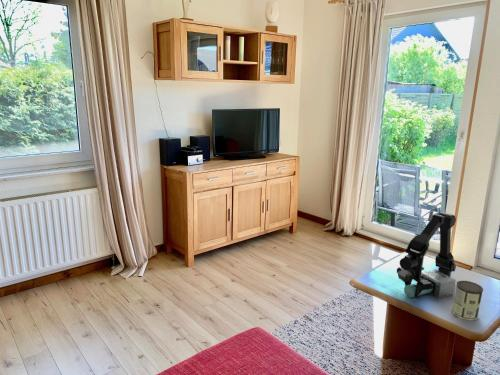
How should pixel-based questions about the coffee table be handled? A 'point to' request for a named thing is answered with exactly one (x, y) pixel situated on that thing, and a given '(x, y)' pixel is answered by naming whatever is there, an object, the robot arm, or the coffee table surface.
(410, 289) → the pale green cylinder
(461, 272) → the coffee table surface
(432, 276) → the housing
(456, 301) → the coffee can
